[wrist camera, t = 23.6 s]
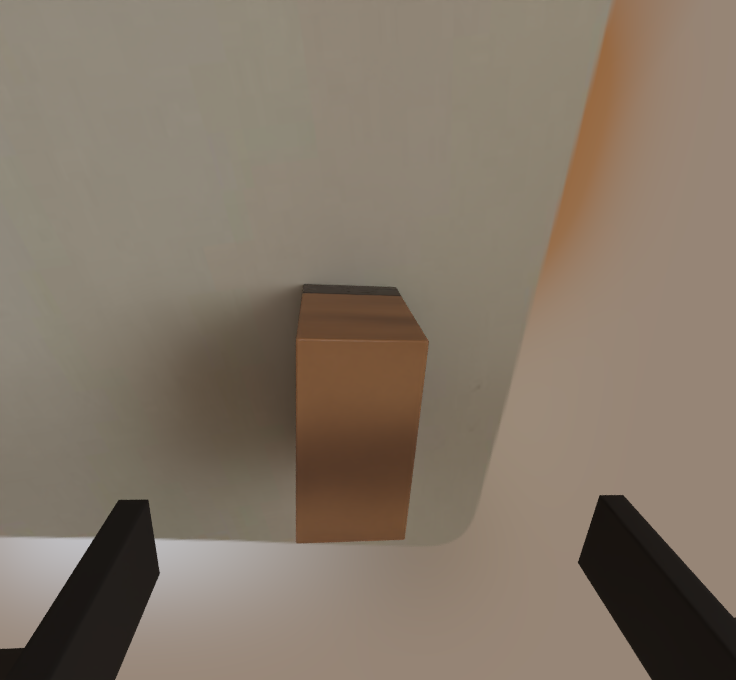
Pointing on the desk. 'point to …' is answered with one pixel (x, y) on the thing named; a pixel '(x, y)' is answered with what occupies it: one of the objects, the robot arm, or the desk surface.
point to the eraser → (356, 412)
